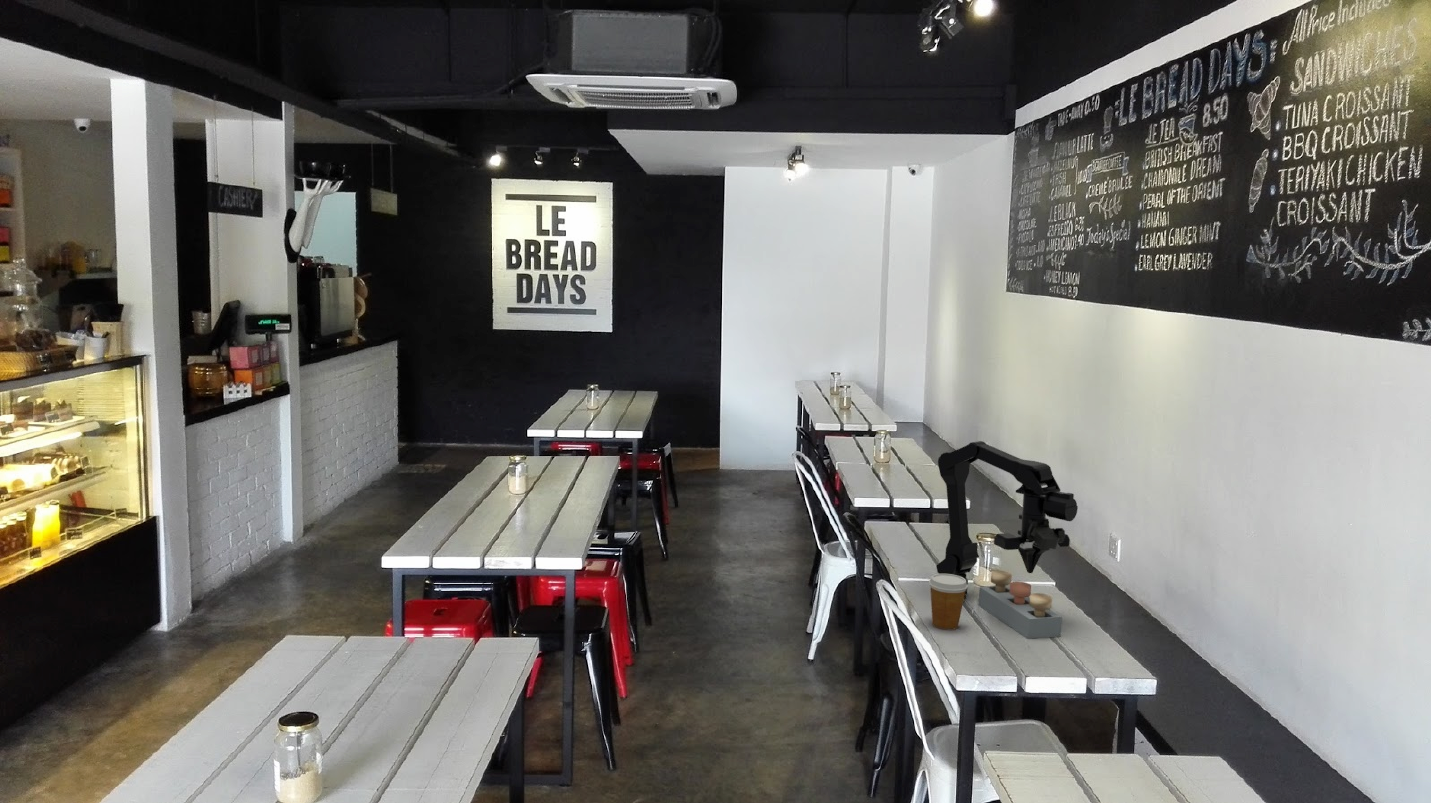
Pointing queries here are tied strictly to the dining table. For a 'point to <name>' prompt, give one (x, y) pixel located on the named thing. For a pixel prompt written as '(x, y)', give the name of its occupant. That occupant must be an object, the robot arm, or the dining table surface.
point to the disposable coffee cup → (947, 599)
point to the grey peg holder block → (1019, 614)
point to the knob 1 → (1000, 580)
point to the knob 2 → (1040, 604)
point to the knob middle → (1020, 591)
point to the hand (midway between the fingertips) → (1029, 572)
